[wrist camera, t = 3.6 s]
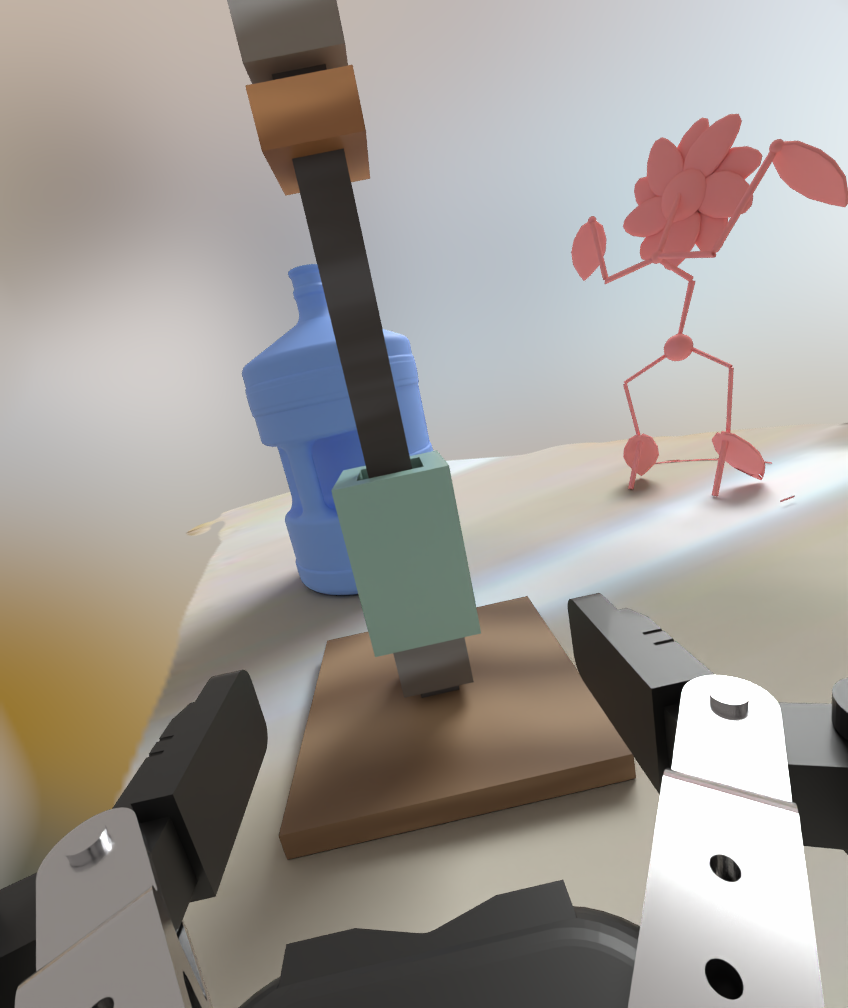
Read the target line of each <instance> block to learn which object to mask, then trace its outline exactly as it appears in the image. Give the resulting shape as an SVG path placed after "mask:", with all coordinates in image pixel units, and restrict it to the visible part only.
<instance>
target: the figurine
mask: <svg viewBox="0 0 848 1008" xmlns="http://www.w3.org/2000/svg"><path fill="white" fill-rule="evenodd" d="M741 122H742V121H741V118H740V116H739V114H730V115H727V116H725V117H724V118H722V119H720V120H718V121H716V122H715V123H714V124H713V125H711V126H710V127H709V122H708V119H706V118H701V119H699V120H698V121H697V122H696V123H694V124H693V125H692V127H691V128H690V129H689V130H688V131H687V132H686V133H685V135H684V136H683V138H682V140H681V142H680V144H679V145H678V147H676V146H675V145H674V144H673V143H672V142H670V141H669V140H668V139H665V138H660V139H659V140H657V141H655V143H654V145H653V147H652V148H651V151H650V155H649V158H648V162H647V177H643V178H640V179H639V180H638V181H637V183H636V184H635V190H634V193H635V198H636V202H637V203H638V205H639V206H638V207H636V209H634V210H633V211H632V212H631V213H630V214H629V215H628V216H627V217H626V219H625V221H624V225H623V227H624V229H625V231H626V232H627V233H629V234H630V235H632V236H638V237H646V238H645V239H644V241H643V242H642V244H641V247H640V256H641V258H642V259H643V260H645V261H643V262H640V263H638V264H636V265H634V266H632V267H629V268H627V269H625V270H623V271H621V272H619V273H616V274H614V275H612V276H610V277H608V274H607V270H606V266H605V262H604V258H603V256H604V253H605V250H606V236H605V232H604V228H603V226H602V225H601V224H599V223H598V222H597V221H596V218H595V217H594V216H591V217H590V218H589V219H588V222H587V223H586V224H584V225H583V226H581V228H580V229H579V231H578V233H577V235H576V237H575V239H574V242H573V247H572V252H571V253H572V260H573V265H574V267H575V269H576V270H577V272H578V274H579V275H580V277H581V278H582V279H583V280H586V279H587V278H588V277H589V276H590V275H591V274H592V273H593V272H594V271H595V269H596V268H597V267H598V266H599V265H600V269H601V273H602V277H603V280H605V284H607V283H609V282H611V281H613V280H616V279H618V278H620V277H622V276H625V275H627V274H629V273H631V272H634V271H636V270H638V269H640V268H642V267H644V266H646V265H649V264H651V263H655V264H657V263H661V264H662V265H664V267H665V268H666V269H668V270H672V271H673V272H675V273H677V274H678V275H680V276H681V277H683V278H684V279H686V280H688V281H689V283H688V288H687V293H686V298H685V302H684V308H683V312H682V317H681V322H680V327H679V333H678V334H676V335H675V336H672V337H671V338H669V339H668V341H667V342H666V344H665V346H664V355H663V356H661V357H660V358H658V359H657V360H655V361H654V362H652V363H651V364H650V365H648V366H646V367H645V368H644V369H642V370H641V371H639V372H638V373H636V374H635V375H633V376H632V377H630V378H629V379H627V380H626V381H624V383H625V384H624V389H625V393H626V396H627V400H628V404H629V408H630V412H631V415H632V419H633V423H634V427H635V430H636V434H637V435H635V436H633V437H632V438H630V439H629V440H628V442H627V444H626V446H625V448H624V459H625V461H626V463H627V465H628V466H630V467H631V468H632V472H631V477H630V482H629V487H628V489H633V488H634V483H635V478H636V473H638V474H639V475H641V476H642V475H643V474H645V473H646V472H647V471H648V470H649V469H650V468H651V467H652V466H653V465H654V464H659V463H669V462H680V461H699V460H718V465H717V470H716V475H715V481H714V486H713V491H712V495H713V496H718V494H719V488H720V483H721V478H722V473H723V468H724V463H725V461H726V462H727V463H729V464H730V465H731V466H733V467H734V468H736V469H738V470H740V471H742V472H744V473H746V474H748V475H750V476H752V477H754V478H757V479H759V480H762V478H763V476H764V473H765V463H771V464H772V462H764V460H763V458H762V456H761V454H760V452H759V451H758V450H757V449H756V448H754V447H753V446H752V445H751V444H750V443H749V442H747V441H745V440H744V439H742V438H740V437H739V436H737V435H735V434H732V433H730V427H731V408H732V389H733V369H734V368H731V367H732V365H731V364H728V363H727V362H724V361H722V360H720V359H718V358H716V357H713V356H711V355H709V354H707V353H705V352H702V351H700V350H698V349H696V348H694V347H693V342H692V339H691V338H690V337H689V336H687V335H684V334H682V332H683V328H684V324H685V320H686V316H687V313H688V309H689V305H690V301H691V297H692V293H693V289H694V285H695V281H693V280H692V279H693V276H692V275H690V274H688V273H686V272H685V271H683V270H681V269H679V268H678V267H677V266H678V265H679V264H680V263H681V262H682V261H683V260H684V259H685V258H710V257H711V258H713V257H716V252H718V251H719V250H720V248H721V247H722V245H723V243H724V241H725V240H726V238H727V236H728V235H729V233H730V231H731V229H732V228H733V226H734V224H735V223H736V221H737V219H738V218H739V216H740V214H743V213H745V212H746V211H747V210H748V209H749V208H750V207H751V205H752V201H753V193H754V191H755V189H756V188H757V186H758V184H759V182H760V181H761V179H762V177H763V176H764V174H765V172H766V171H767V169H768V167H769V166H770V164H771V162H773V164H774V166H775V168H776V170H777V172H778V174H779V176H780V178H781V179H782V180H783V181H784V182H785V183H786V184H787V185H789V187H790V188H792V189H793V190H795V191H797V192H799V193H800V194H802V195H804V196H805V197H807V198H809V199H813V200H816V201H820V202H823V203H827V204H831V205H836V206H841V207H846V205H847V204H848V188H847V182H846V176H845V174H844V173H843V171H842V170H841V169H840V167H839V166H838V164H837V163H836V161H835V160H834V159H832V158H831V157H830V156H828V155H827V154H826V153H824V152H823V151H822V150H821V149H818V148H816V147H813V146H810V145H808V144H805V143H803V142H800V141H785V142H783V140H781V139H777V140H775V141H774V142H772V144H771V145H770V148H769V150H770V152H769V153H768V156H767V157H766V159H765V160H764V162H763V164H762V165H761V167H760V169H759V171H758V172H757V174H756V176H755V177H754V179H753V181H752V182H751V184H750V185H749V184H748V183H747V182H746V181H745V180H744V179H746V178H747V177H748V176H749V175H750V174H751V173H753V172H754V171H755V170H756V169H757V167H759V166H760V163H761V160H762V154H761V153H760V152H759V151H758V150H756V149H753V148H751V147H747V146H746V147H734V148H731V146H732V145H733V143H734V140H735V138H736V136H737V134H738V132H739V129H740V125H741ZM730 148H731V149H730ZM728 217H731V218H730V220H729V222H728ZM695 244H696V245H697V246H698V248H699V249H700V251H695V252H690V251H691V250H692V248H693V247H694V245H695ZM692 351H693V352H695V353H697V354H699V355H701V356H704V357H706V358H708V359H710V360H713V361H715V362H717V363H719V364H722V365H724V366H726V367H728V368H729V379H728V401H727V423H726V432H724V431H722V432H721V434H720V433H718V432H717V433H716V435H715V436H714V437H713V439H712V442H713V445H714V447H715V450H716V451H717V453H718V454H719V458H718V459H696V460H670V461H668V462H659V463H656V460H657V458H658V456H659V452H658V446H657V445H656V443H655V441H654V440H653V438H652V437H650V436H648V435H645V434H642V435H641V436H640V432H639V428H638V424H637V420H636V417H635V413H634V409H633V405H632V402H631V398H630V394H629V390H628V386H627V383H628V382H629V381H631V380H633V379H634V378H636V377H637V376H639V375H640V374H641V373H643V372H645V371H646V370H648V369H649V368H651V367H652V366H654V365H655V364H657V363H658V362H660V361H661V360H663V359H664V358H666V357H667V358H668V359H669V360H672V361H680V360H683V359H685V358H687V357H688V356H689V355H690V354H691V352H692ZM758 474H760V475H761V476H762V478H761V477H760V476H759V475H758ZM793 497H794V496H792V497H789V498H786V499H783V500H780V502H782V501H785V500H788V499H790V498H793Z"/></svg>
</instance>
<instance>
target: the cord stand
mask: <svg viewBox="0 0 848 1008" xmlns="http://www.w3.org/2000/svg"><path fill="white" fill-rule="evenodd" d="M227 1H228V5H229V9H230V13H231V17H232V21H233V25H234V29H235V33H236V37H237V41H238V45H239V49H240V53H241V57H242V61H243V64H244V66H245V68H246V71H247V73H248V75H249V77H250V79H251V82H252V84H251V85H246V90H247V94H248V98H249V101H250V106H251V110H252V114H253V118H254V121H255V125H256V129H257V133H258V137H259V141H260V145H261V149H262V152H263V154H264V156H265V158H266V159H267V162H268V163H269V165H270V167H271V169H272V171H273V173H274V174H275V177H276V178H277V180H278V182H279V184H280V186H281V188H282V190H283V192H284V193H285V195H291V194H296V193H300V195H301V199H302V203H303V207H304V211H305V215H306V219H307V224H308V227H309V232H310V236H311V240H312V244H313V249H314V253H315V257H316V261H317V265H318V269H319V274H320V278H321V282H322V286H323V290H324V294H325V299H326V303H327V307H328V311H329V315H330V319H331V324H332V328H333V332H334V336H335V340H336V344H337V349H338V353H339V357H340V361H341V365H342V369H343V373H344V378H345V382H346V386H347V390H348V394H349V398H350V403H351V407H352V411H353V415H354V419H355V423H356V428H357V432H358V436H359V440H360V444H361V448H362V453H363V457H364V461H365V465H366V469H367V473H368V478H373V477H378V476H382V475H387V474H392V473H396V472H401V471H406V470H410V469H412V465H411V460H410V456H409V451H408V446H407V442H406V437H405V432H404V428H403V423H402V418H401V414H400V409H399V404H398V400H397V395H396V390H395V386H394V381H393V376H392V372H391V367H390V362H389V358H388V353H387V348H386V344H385V339H384V334H383V330H382V325H381V320H380V316H379V311H378V306H377V302H376V297H375V292H374V288H373V283H372V278H371V273H370V269H369V264H368V259H367V255H366V250H365V245H364V241H363V236H362V231H361V227H360V222H359V217H358V213H357V209H356V203H355V199H354V194H353V189H352V185H351V182H355V181H360V180H365V179H370V172H369V162H368V150H367V139H366V130H365V125H364V119H363V114H362V110H361V105H360V100H359V95H358V90H357V85H356V80H355V75H354V70H353V65H348V63H347V55H346V47H345V41H344V36H343V31H342V26H341V21H340V16H339V11H338V7H337V1H336V0H227ZM476 609H477V614H478V619H479V624H480V630H481V634H476V635H472V636H467V637H463V638H459V639H454V640H450V641H445V642H441V643H436V644H432V645H427V646H423V647H418V648H414V649H410V650H405V651H401V652H396V653H392V654H387V655H383V656H378V657H375V655H374V651H373V647H372V644H371V640H370V636H369V632H364V633H360V634H355V635H351V636H347V637H342V638H338V639H333V640H329V641H327V644H326V648H325V652H324V656H323V660H322V664H321V668H320V672H319V676H318V680H317V684H316V688H315V692H314V696H313V700H312V704H311V708H310V712H309V716H308V720H307V724H306V728H305V732H304V736H303V740H302V744H301V748H300V752H299V756H298V760H297V764H296V768H295V772H294V776H293V780H292V784H291V788H290V792H289V796H288V800H287V804H286V808H285V812H284V816H283V820H282V824H281V828H280V833H279V838H280V841H281V844H282V847H283V849H284V852H285V855H286V857H287V860H288V859H292V858H296V857H301V856H305V855H309V854H313V853H318V852H322V851H326V850H331V849H335V848H339V847H343V846H348V845H352V844H356V843H361V842H365V841H369V840H373V839H378V838H382V837H386V836H391V835H395V834H399V833H403V832H408V831H412V830H416V829H421V828H425V827H429V826H433V825H438V824H442V823H446V822H450V821H455V820H459V819H463V818H468V817H472V816H476V815H480V814H485V813H489V812H493V811H498V810H502V809H506V808H510V807H515V806H519V805H523V804H528V803H532V802H536V801H540V800H545V799H549V798H553V797H558V796H562V795H566V794H570V793H575V792H579V791H583V790H588V789H592V788H596V787H600V786H605V785H609V784H613V783H618V782H622V781H626V780H630V779H635V778H636V774H635V764H634V756H633V754H632V753H631V751H630V750H629V748H628V747H627V745H626V744H625V743H624V741H623V740H622V738H621V737H620V735H619V734H618V732H617V731H616V729H615V728H614V726H613V725H612V723H611V722H610V720H609V719H608V717H607V716H606V714H605V713H604V711H603V710H602V708H601V707H600V705H599V704H598V702H597V701H596V700H595V698H594V697H593V695H592V694H591V692H590V691H589V689H588V688H587V686H586V685H585V683H584V682H583V680H582V678H581V676H580V674H579V672H578V671H577V669H576V668H575V666H574V665H573V663H572V662H571V660H570V659H569V657H568V656H567V654H566V653H565V651H564V650H563V648H562V647H561V645H560V644H559V642H558V641H557V639H556V638H555V637H554V635H553V634H552V632H551V631H550V629H549V628H548V626H547V625H546V623H545V622H544V620H543V619H542V617H541V616H540V614H539V613H538V611H537V610H536V608H535V607H534V605H533V604H532V602H531V601H530V599H529V598H528V596H526V597H521V598H517V599H512V600H508V601H503V602H499V603H494V604H490V605H485V606H481V607H476Z"/></svg>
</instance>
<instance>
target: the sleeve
mask: <svg viewBox="0 0 848 1008" xmlns="http://www.w3.org/2000/svg"><path fill="white" fill-rule="evenodd" d="M410 460H411V465H412V469H410V470H406V471H401V472H396V473H392V474H387V475H382V476H378V477H373V478H368V473H367V469H366V466H362V467H357V468H352V469H348V470H343V472H342V473H341V475H340V477H339V478H338V480H337V482H336V483H335V485H334V487H333V489H332V490H331V492H332V496H333V499H334V503H335V507H336V511H337V515H338V518H339V522H340V526H341V530H342V534H343V537H344V541H345V545H346V549H347V553H348V556H349V560H350V564H351V568H352V572H353V575H354V579H355V583H356V587H357V591H358V594H359V598H360V602H361V606H362V609H363V613H364V617H365V621H366V625H367V628H368V632H369V636H370V640H371V644H372V647H373V651H374V655H375V657H378V656H383V655H387V654H392V653H396V652H401V651H405V650H410V649H414V648H418V647H423V646H427V645H432V644H436V643H441V642H445V641H450V640H454V639H459V638H463V637H467V636H472V635H476V634H481V630H480V624H479V619H478V614H477V609H476V604H475V598H474V593H473V588H472V583H471V578H470V572H469V567H468V562H467V557H466V552H465V547H464V541H463V536H462V531H461V526H460V521H459V515H458V510H457V505H456V500H455V495H454V490H453V484H452V479H451V474H450V469H449V465H448V464H447V462H446V461H445V460H444V459H443V458H442V456H441V455H440V454H439V453H438V451H431V452H427V453H422V454H418V455H413V456H410Z"/></svg>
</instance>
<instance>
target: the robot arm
mask: <svg viewBox="0 0 848 1008" xmlns="http://www.w3.org/2000/svg"><path fill="white" fill-rule="evenodd" d="M568 614H569V621H570V629H571V636H572V644H573V652H574V658H575V662H576V665H577V668H578V671H579V674H580V676H581V678H582V680H583V682H584V683H585V685H586V686H587V688H588V689H589V691H590V692H591V694H592V695H593V697H594V698H595V700H596V701H597V702H598V704H599V705H600V707H601V708H602V710H603V711H604V713H605V714H606V716H607V717H608V719H609V720H610V722H611V723H612V725H613V726H614V728H615V729H616V731H617V732H618V734H619V735H620V737H621V738H622V740H623V741H624V743H625V744H626V745H627V747H628V748H629V750H630V751H631V753H632V754H633V756H634V757H635V759H636V760H637V762H638V763H639V765H640V766H641V768H642V769H643V771H644V772H645V774H646V775H647V777H648V778H649V780H650V781H651V783H652V784H653V786H654V787H655V789H656V790H657V791H658V793H659V794H660V800H659V807H658V813H657V820H656V826H655V833H654V839H653V846H652V852H651V859H650V866H649V872H648V879H647V885H646V892H645V898H644V905H643V912H642V918H641V925H640V926H638V925H636V924H634V923H632V922H630V921H628V920H626V919H624V918H622V917H619V916H616V915H613V914H610V913H607V912H604V911H600V910H596V909H591V908H586V907H576V906H572V903H571V900H570V897H569V895H568V892H567V889H566V886H565V883H564V881H563V880H560V881H555V882H551V883H547V884H543V885H538V886H534V887H530V888H525V889H521V890H517V891H513V892H508V893H504V894H500V895H496V896H494V897H492V898H490V899H489V900H487V901H485V902H483V903H482V904H480V905H478V906H476V907H474V908H473V909H471V910H469V911H467V912H466V913H464V914H462V915H460V916H458V917H457V918H455V919H453V920H451V921H450V922H448V923H446V924H444V925H442V926H441V927H439V928H437V929H435V930H433V931H431V932H428V933H408V932H396V931H383V930H371V929H358V928H354V929H350V930H346V931H341V932H337V933H333V934H328V935H324V936H320V937H316V938H311V939H307V940H303V941H298V942H294V943H290V944H286V950H285V955H284V960H283V965H282V971H281V976H280V977H279V978H277V979H275V980H273V981H272V982H271V983H269V984H268V985H266V986H265V987H263V988H262V989H261V990H259V991H258V992H256V993H255V994H254V995H253V996H252V997H250V998H249V999H248V1000H247V1001H246V1002H245V1003H243V1004H242V1005H241V1006H240V1007H239V1008H825V1005H824V998H823V990H822V983H821V976H820V968H819V961H818V954H817V946H816V939H815V932H814V924H813V917H812V910H811V902H810V895H809V887H808V880H807V873H806V865H805V858H804V851H803V846H811V847H821V848H832V849H842V850H844V851H845V852H846V853H847V855H848V677H847V678H844V679H841V680H839V681H838V682H837V683H835V685H834V686H833V689H832V704H819V703H781V702H777V701H776V700H775V699H774V698H773V697H772V696H771V695H770V694H769V693H768V692H767V691H765V690H764V689H762V688H761V687H759V686H757V685H755V684H753V683H750V682H748V681H745V680H742V679H739V678H735V677H730V676H722V675H715V674H714V673H712V672H711V671H710V670H709V669H708V668H707V667H705V666H704V665H703V664H702V663H701V662H700V661H698V660H697V659H696V658H695V657H694V656H693V655H691V654H690V653H689V652H688V651H687V650H686V649H685V648H683V647H682V646H681V645H680V644H679V643H678V642H676V641H675V642H674V640H673V638H672V637H671V636H669V635H668V634H667V633H666V632H665V631H662V630H661V628H660V627H659V626H658V625H657V624H656V623H654V622H653V621H652V620H651V619H650V618H649V617H647V616H645V615H643V614H640V613H638V612H636V611H633V610H631V609H628V608H624V609H620V610H618V609H617V608H616V607H614V606H613V605H612V604H611V603H610V602H609V601H608V600H607V599H606V598H605V597H604V596H603V595H602V594H600V593H596V594H592V595H587V596H582V597H578V598H573V599H570V600H569V601H568ZM159 739H160V741H159V742H157V743H156V744H155V746H154V747H153V749H152V750H151V752H150V753H149V757H147V758H146V759H145V761H144V762H143V764H142V765H141V767H140V768H139V770H138V771H137V773H136V774H135V776H134V777H133V779H132V780H131V781H130V783H129V784H128V786H127V787H126V789H125V790H124V792H123V793H122V795H121V796H120V798H119V799H118V801H117V802H116V804H115V805H114V807H113V808H112V809H110V810H107V811H104V812H102V813H100V814H97V815H95V816H93V817H91V818H90V819H88V820H86V821H85V822H83V823H82V824H80V825H79V826H77V827H76V828H74V829H73V830H72V831H70V832H69V833H68V834H67V835H66V836H65V837H63V838H62V839H61V840H60V841H59V842H58V843H57V844H56V845H55V846H54V847H53V848H52V850H51V851H50V852H49V853H48V855H47V856H46V857H45V859H44V860H43V862H42V864H41V865H40V867H39V870H38V872H37V873H35V874H33V875H31V876H29V877H26V878H24V879H23V880H20V881H18V882H16V883H14V884H12V885H9V886H7V887H5V888H3V889H1V890H0V1008H213V1006H212V1003H211V1000H210V997H209V994H208V991H207V988H206V985H205V982H204V979H203V976H202V973H201V970H200V967H199V964H198V960H197V957H196V954H195V951H194V948H193V945H192V942H191V939H190V936H189V933H188V930H187V928H186V926H185V924H184V921H183V917H184V915H185V912H186V910H187V907H188V904H189V902H194V901H198V900H202V899H207V898H211V897H215V896H216V894H217V891H218V888H219V885H220V882H221V879H222V876H223V873H224V871H225V868H226V865H227V862H228V859H229V856H230V853H231V850H232V848H233V845H234V842H235V839H236V836H237V833H238V830H239V827H240V825H241V822H242V819H243V816H244V813H245V810H246V807H247V804H248V801H249V799H250V796H251V793H252V790H253V787H254V784H255V781H256V778H257V776H258V773H259V770H260V767H261V764H262V761H263V758H264V755H265V753H266V749H267V740H268V736H267V726H266V722H265V719H264V716H263V713H262V710H261V707H260V704H259V701H258V698H257V695H256V692H255V690H254V687H253V684H252V681H251V678H250V676H249V674H248V672H247V671H245V670H240V671H236V672H231V673H227V674H222V675H217V676H213V677H211V678H210V679H209V681H208V682H207V684H206V685H205V687H204V688H203V690H202V692H201V693H200V695H199V696H198V698H197V700H196V701H195V702H193V703H190V704H189V705H188V706H187V707H186V708H185V709H183V710H182V711H181V712H180V713H179V714H178V715H177V716H176V717H175V718H173V719H172V720H171V722H170V723H169V725H168V726H167V728H166V729H165V731H164V732H163V734H162V735H161V737H160V738H159Z"/></svg>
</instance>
